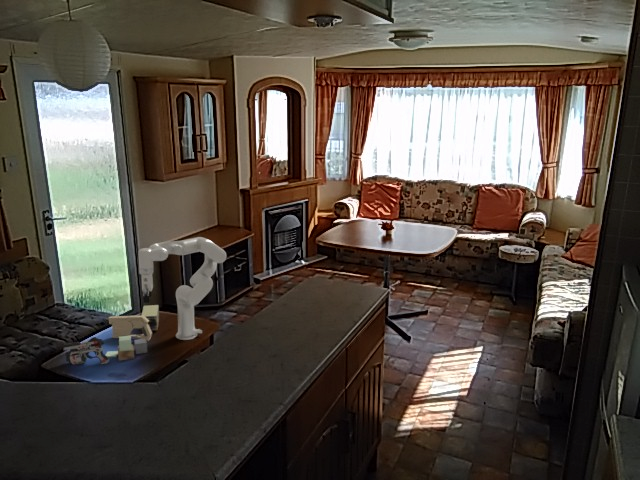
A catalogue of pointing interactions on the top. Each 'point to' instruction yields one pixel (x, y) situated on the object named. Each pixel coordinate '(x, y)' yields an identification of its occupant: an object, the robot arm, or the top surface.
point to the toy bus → (152, 316)
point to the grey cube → (140, 346)
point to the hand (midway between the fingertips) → (147, 299)
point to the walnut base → (126, 354)
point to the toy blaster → (85, 351)
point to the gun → (130, 326)
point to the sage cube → (125, 343)
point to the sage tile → (112, 354)
